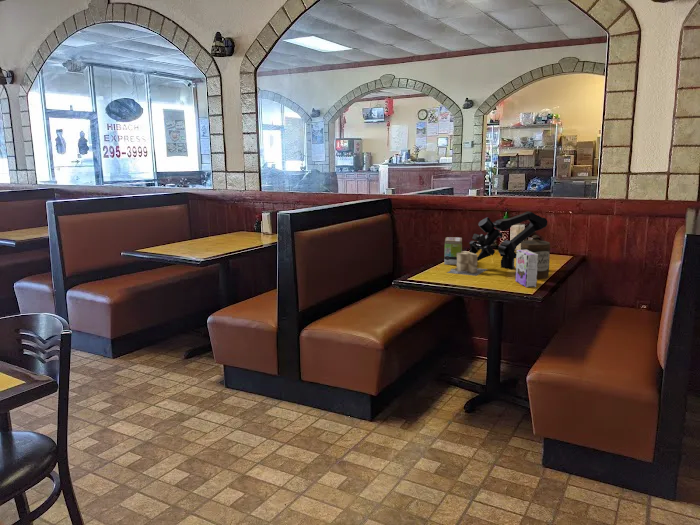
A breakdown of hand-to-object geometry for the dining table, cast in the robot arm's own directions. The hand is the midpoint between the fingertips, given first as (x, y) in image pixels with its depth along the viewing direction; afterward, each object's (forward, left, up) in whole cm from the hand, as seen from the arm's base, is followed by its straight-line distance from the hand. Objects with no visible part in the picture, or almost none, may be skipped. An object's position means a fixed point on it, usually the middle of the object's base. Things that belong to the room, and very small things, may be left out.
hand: (471, 259), depth 307 cm
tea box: (+18, -18, -7) cm, 26 cm away
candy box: (-34, +16, -7) cm, 38 cm away
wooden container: (-33, -4, -7) cm, 34 cm away
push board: (+2, +3, -7) cm, 8 cm away
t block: (+2, +3, -6) cm, 7 cm away
